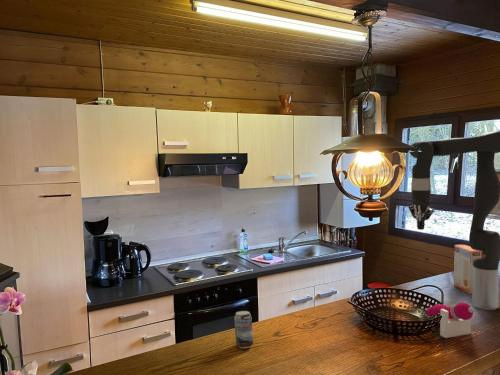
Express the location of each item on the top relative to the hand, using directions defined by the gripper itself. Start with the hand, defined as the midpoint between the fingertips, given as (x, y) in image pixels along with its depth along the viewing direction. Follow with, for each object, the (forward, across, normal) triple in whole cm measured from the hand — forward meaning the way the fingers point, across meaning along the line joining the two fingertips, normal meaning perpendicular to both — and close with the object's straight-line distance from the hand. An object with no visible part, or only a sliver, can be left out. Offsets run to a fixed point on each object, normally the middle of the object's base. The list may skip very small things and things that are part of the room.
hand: (420, 229), depth 162 cm
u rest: (+34, -25, +6) cm, 43 cm away
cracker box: (+35, +10, -37) cm, 52 cm away
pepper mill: (+32, -14, +6) cm, 35 cm away
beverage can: (+34, -8, +82) cm, 89 cm away
